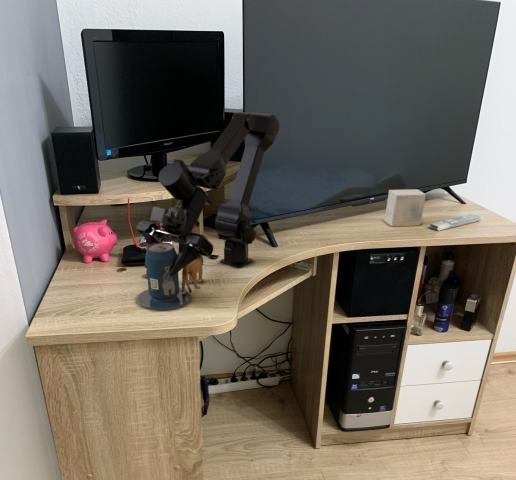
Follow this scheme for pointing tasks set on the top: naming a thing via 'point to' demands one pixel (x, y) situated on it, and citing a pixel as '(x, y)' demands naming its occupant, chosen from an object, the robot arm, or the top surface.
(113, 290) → the top surface
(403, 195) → the cosmetics box
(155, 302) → the coaster
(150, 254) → the soda can
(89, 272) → the top surface
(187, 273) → the lion figurine
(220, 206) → the robot arm
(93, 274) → the top surface
